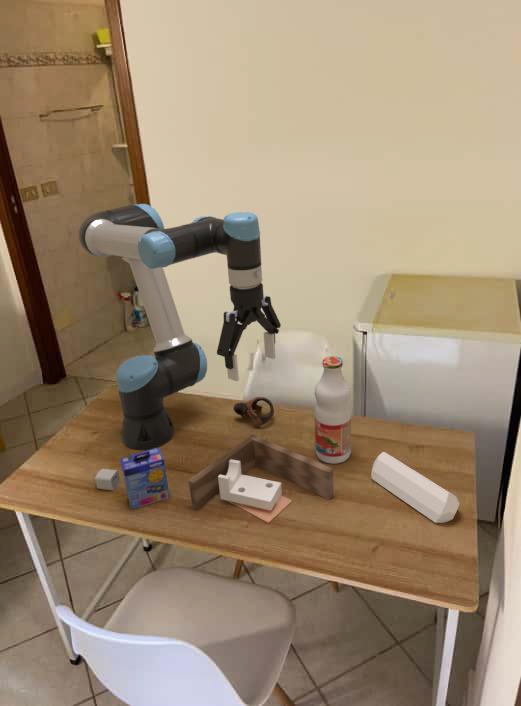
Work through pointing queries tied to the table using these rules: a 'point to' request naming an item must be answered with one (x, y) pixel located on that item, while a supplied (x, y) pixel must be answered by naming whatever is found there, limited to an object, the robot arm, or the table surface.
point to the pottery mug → (252, 406)
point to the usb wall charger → (107, 479)
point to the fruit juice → (332, 414)
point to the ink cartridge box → (145, 478)
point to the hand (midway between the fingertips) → (252, 368)
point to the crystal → (414, 489)
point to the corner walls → (267, 458)
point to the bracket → (248, 488)
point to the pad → (263, 513)
